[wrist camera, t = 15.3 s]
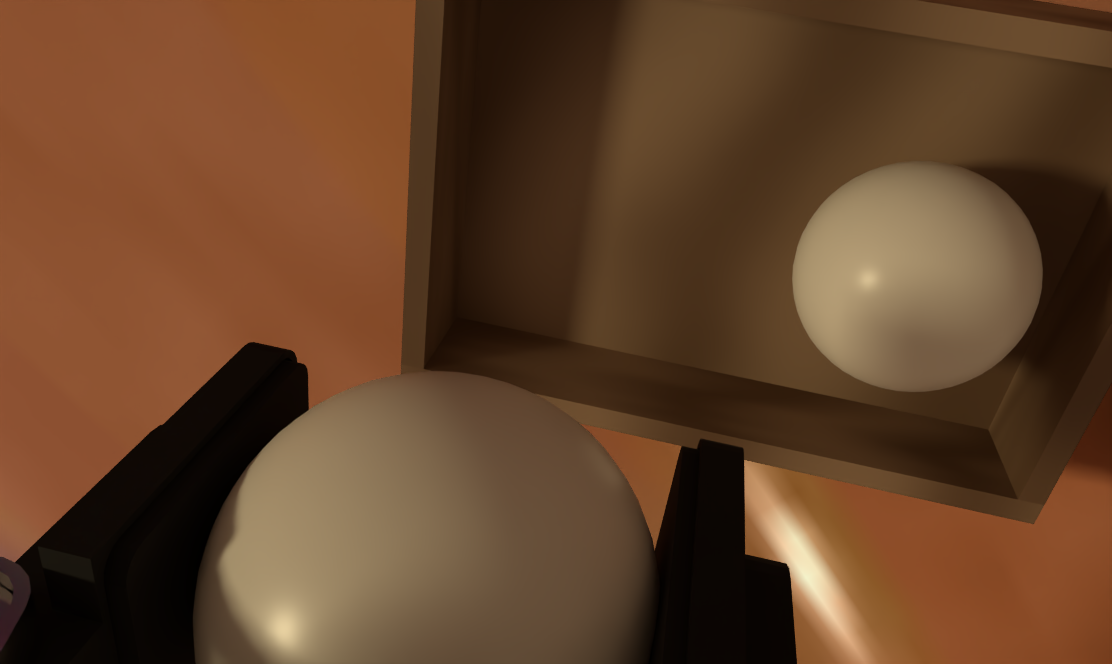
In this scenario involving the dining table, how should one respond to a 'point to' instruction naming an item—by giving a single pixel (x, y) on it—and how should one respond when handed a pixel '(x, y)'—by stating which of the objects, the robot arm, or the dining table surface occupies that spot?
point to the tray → (752, 219)
